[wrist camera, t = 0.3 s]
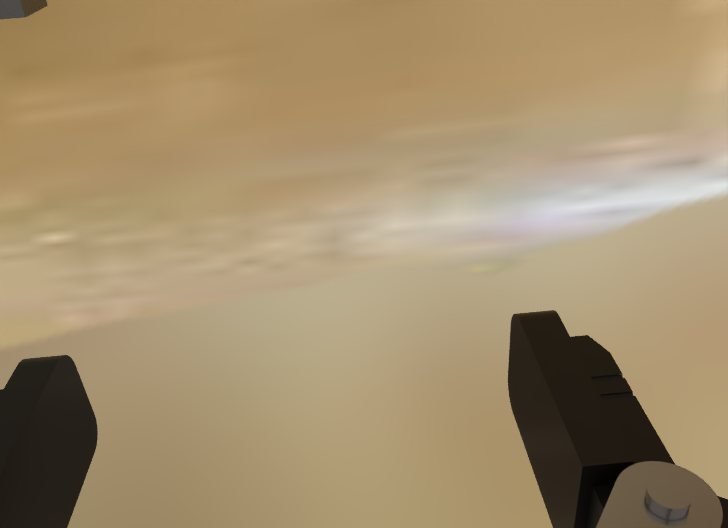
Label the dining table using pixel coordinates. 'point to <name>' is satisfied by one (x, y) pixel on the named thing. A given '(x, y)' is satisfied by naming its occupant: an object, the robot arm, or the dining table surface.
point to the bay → (20, 8)
